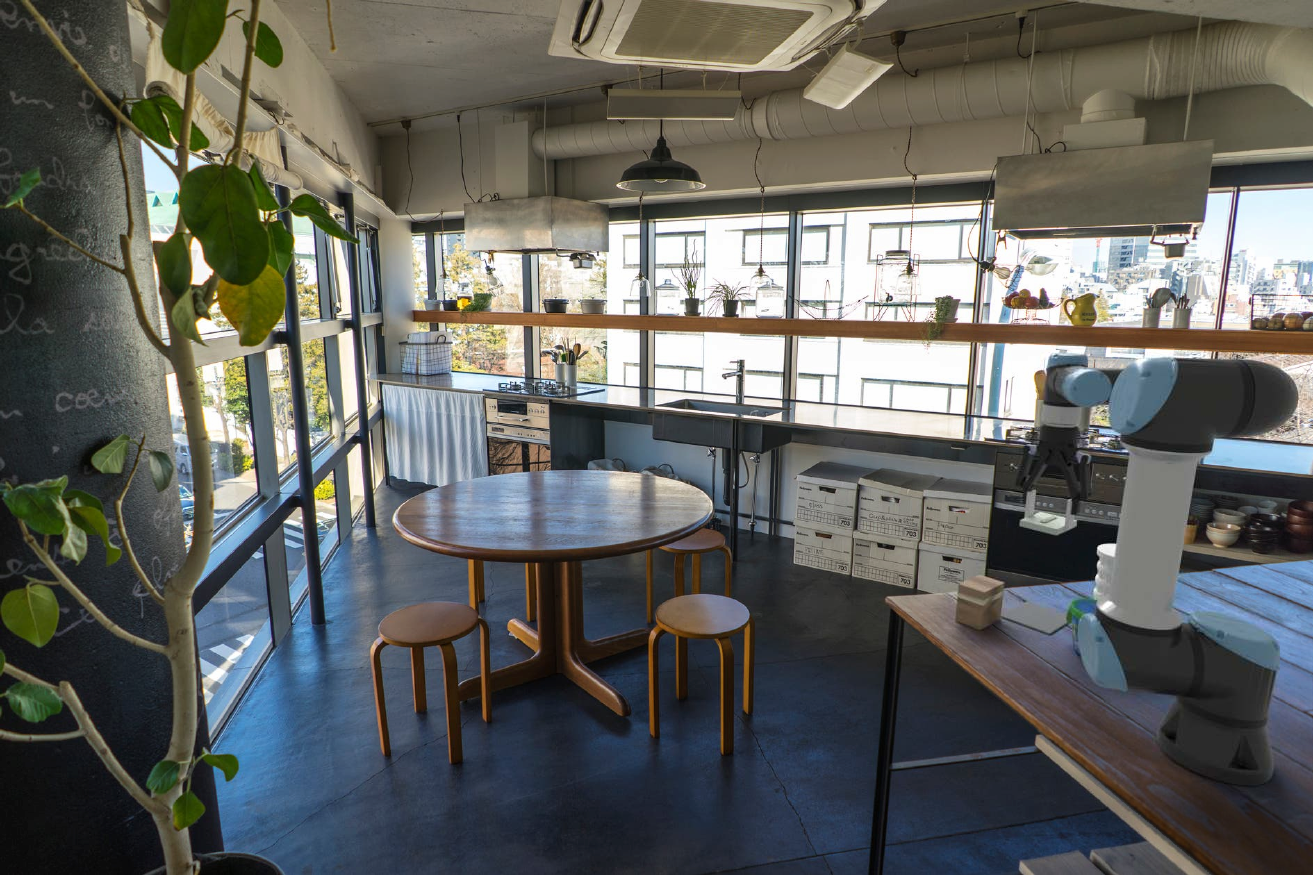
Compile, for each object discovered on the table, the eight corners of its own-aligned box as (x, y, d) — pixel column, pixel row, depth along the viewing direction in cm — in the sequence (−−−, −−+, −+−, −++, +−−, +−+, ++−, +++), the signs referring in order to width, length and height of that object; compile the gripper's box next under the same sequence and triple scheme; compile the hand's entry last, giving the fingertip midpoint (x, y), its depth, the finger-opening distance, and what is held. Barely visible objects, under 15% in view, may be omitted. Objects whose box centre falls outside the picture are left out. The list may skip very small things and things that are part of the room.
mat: (1049, 634, 158) (1049, 633, 158) (1000, 617, 167) (1000, 615, 167) (1075, 618, 166) (1075, 617, 166) (1027, 602, 175) (1027, 601, 175)
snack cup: (1143, 673, 143) (1150, 626, 141) (1090, 673, 143) (1097, 626, 141) (1096, 636, 158) (1102, 593, 156) (1048, 636, 158) (1053, 592, 156)
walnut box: (980, 630, 160) (984, 592, 159) (954, 620, 165) (958, 583, 163) (1000, 619, 166) (1004, 582, 164) (975, 609, 171) (979, 574, 169)
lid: (1056, 535, 156) (1057, 527, 156) (1019, 525, 162) (1020, 518, 162) (1076, 526, 162) (1077, 519, 162) (1039, 517, 168) (1040, 510, 168)
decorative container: (1076, 625, 163) (1086, 550, 160) (1098, 611, 170) (1108, 539, 166) (1133, 644, 154) (1145, 565, 150) (1154, 629, 161) (1166, 554, 157)
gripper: (1119, 429, 152) (1105, 531, 156) (1020, 415, 168) (1010, 509, 172) (1105, 433, 147) (1091, 538, 152) (1004, 419, 163) (994, 514, 168)
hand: (1048, 522), depth 162 cm, fingers closed on lid, 8 cm apart
